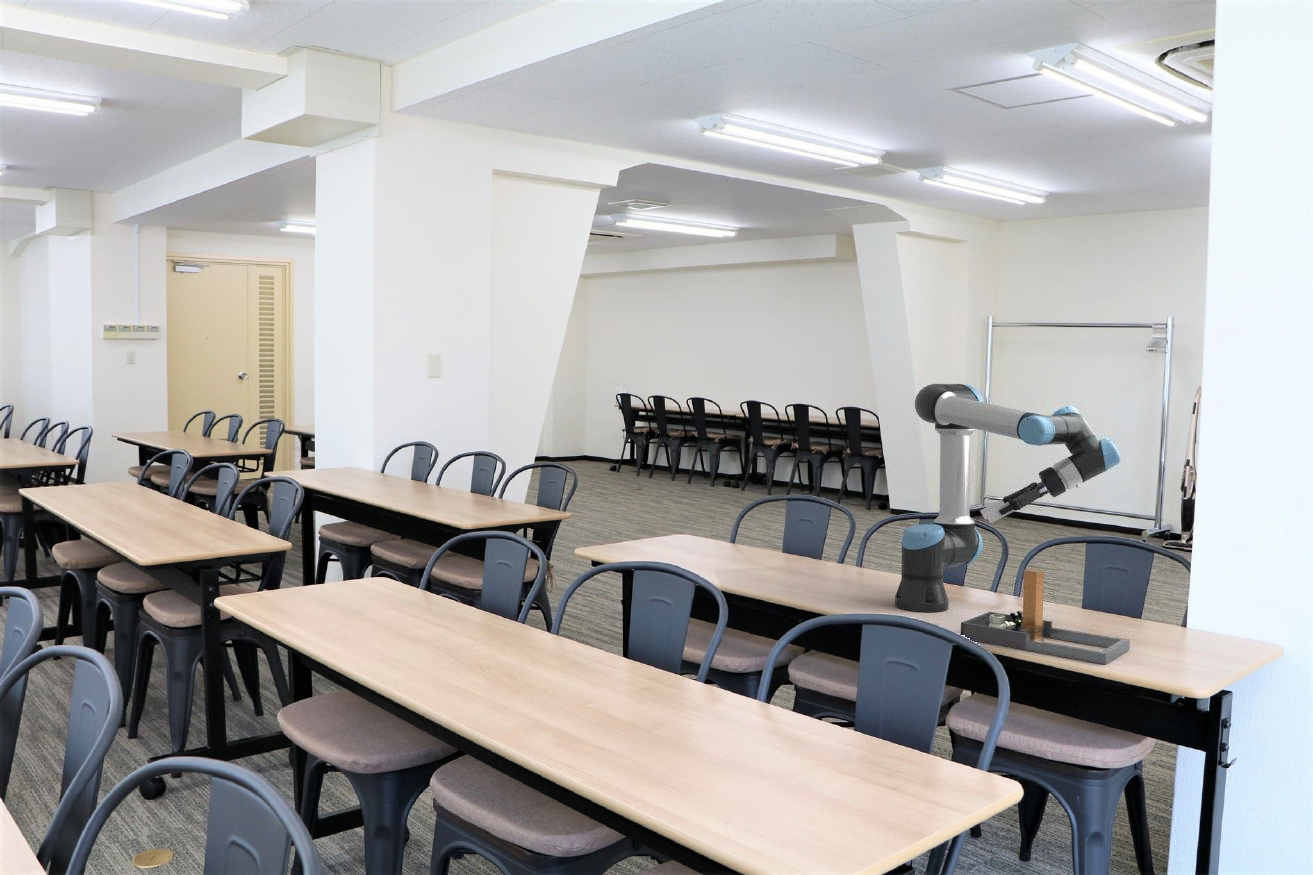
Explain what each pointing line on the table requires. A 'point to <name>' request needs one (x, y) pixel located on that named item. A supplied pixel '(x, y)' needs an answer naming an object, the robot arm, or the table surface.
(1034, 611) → the brown wooden block
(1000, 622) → the valve
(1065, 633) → the slot rails
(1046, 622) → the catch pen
